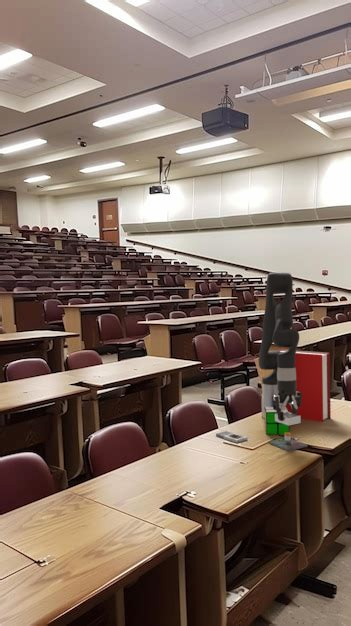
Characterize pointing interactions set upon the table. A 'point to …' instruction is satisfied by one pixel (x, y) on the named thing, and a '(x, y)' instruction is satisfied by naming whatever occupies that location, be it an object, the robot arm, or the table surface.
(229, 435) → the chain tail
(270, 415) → the puzzle cube
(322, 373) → the book
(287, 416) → the link
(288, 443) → the keeper
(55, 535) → the table surface
